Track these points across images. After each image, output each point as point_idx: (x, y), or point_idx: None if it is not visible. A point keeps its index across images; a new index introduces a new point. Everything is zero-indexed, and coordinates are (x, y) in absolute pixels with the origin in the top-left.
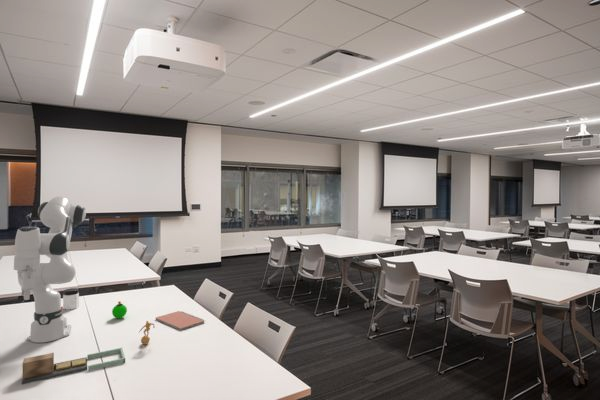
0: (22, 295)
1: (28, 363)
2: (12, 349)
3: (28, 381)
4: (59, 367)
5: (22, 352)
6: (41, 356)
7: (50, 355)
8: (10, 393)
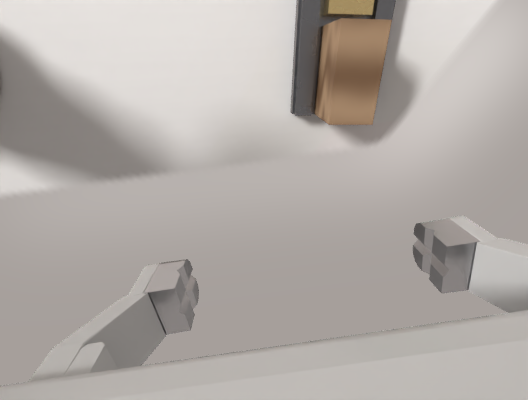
0: (198, 293)
1: (374, 106)
2: (46, 170)
3: None
4: (367, 2)
5: (87, 139)
6: (350, 66)
7: (363, 31)
8: (384, 134)
